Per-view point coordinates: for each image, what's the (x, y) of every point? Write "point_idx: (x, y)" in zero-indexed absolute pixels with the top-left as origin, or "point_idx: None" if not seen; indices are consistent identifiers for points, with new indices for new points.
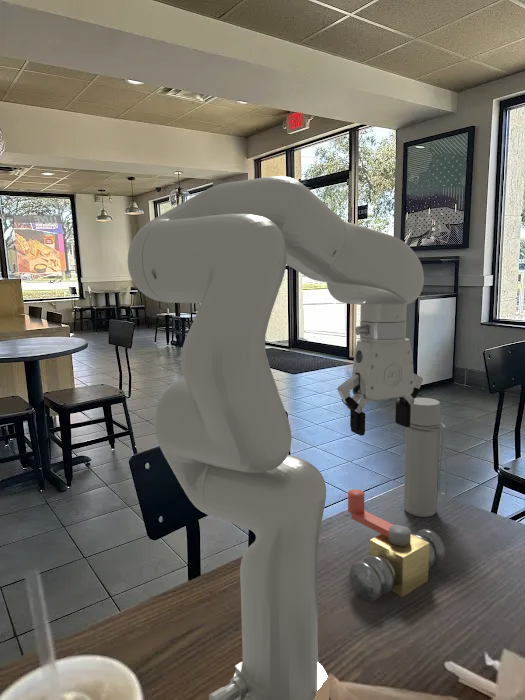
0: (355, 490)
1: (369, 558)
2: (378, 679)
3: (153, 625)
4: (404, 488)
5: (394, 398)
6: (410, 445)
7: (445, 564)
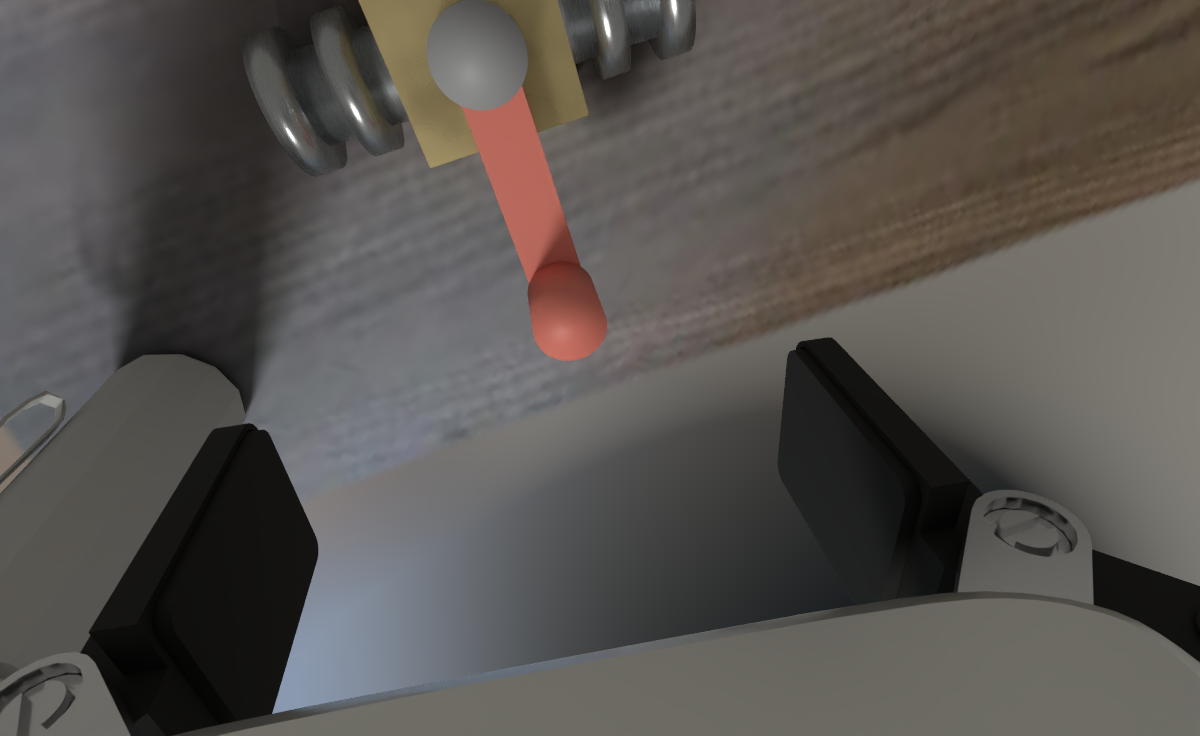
0: (560, 350)
1: (628, 34)
2: None
3: (1177, 113)
4: None
5: (471, 677)
6: None
7: None
